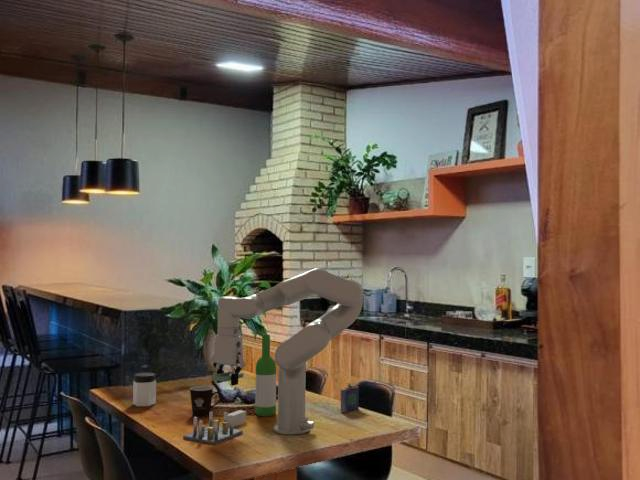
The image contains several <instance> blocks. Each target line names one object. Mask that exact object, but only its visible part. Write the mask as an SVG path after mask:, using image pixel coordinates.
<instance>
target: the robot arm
mask: <svg viewBox="0 0 640 480" xmlns="http://www.w3.org/2000/svg"><path fill="white" fill-rule="evenodd" d="M315 295H317V296H319V297H321V298H324V299H327V300H329V301H331V302H334V303H336V304H335V305H334V306H333V307H332V308H331V309H329V310H328V311H327V312H325V313H324V314H323V315H321V316H320V317H318V318H316V319H315V320H313V321H311V322H309V323H308V324H307V325H305V327H304V328H302V329H301V330H300V331H298V332H296V333H295V334H293V336H291V337H289V338H287V339H284V340H283V341H282V342H281V343H280V344H279V345H278V347H277V348H276V350H275V353H274V361H275V363H276V366H278V371H277V386H278V395H277V423H275V425H273V428H272V429H273V431H274V432H275V433H277V434H281V435H287V436H288V435H292V436H293V435H301V434H305V433H309V431H310V430H314V428H315V422H314V421H309V417H308V416H306V378H307V377H306V372H307V371H306V369H307V362H308V361H309V360H311V359H312V358H314V357H315V356H316V355H318V354H319V353H320V352H322V351H323V350H325V348H326V347H327V346H328V344H329V343H330V342H331V341H332V340H333V339H334V338H336V337H337V336H338V335H340V334H341V333H342V332H343V331H344V330H346V329H347V328H348V327H350V326H351V325H352V324H353V323H354V322H355V321H356V320H357V319H358V318H359V316H360V314H361V312H362V309H363V305H364V294H363V289H362V286H361V285H360V283H359V282H357V281H356V280H354V279H346V278H343V277H340V276H338V275H335V274H333V273H330V272H328V270H326V269H325V268H323V267H316V268H313V269H311V270H308V271H306V272H303V273H300V274H298V275H296V276H293V277H290V278H288V279H286V280H285V279H284V280H283V281H281V282H279V283H277V284H276V285H275V286H272V287H269V288H267V289H265V290H262V291H259V292H257V293H254V294H251V295H249V296H246V297H237V296H221V297H219V298H218V300H217V333H216V336H215V342H214V350H213V356H211V358H210V362H211V364H212V366H213V367H214V371H215V372H216V374H220V373H224V372H225V370H223V369H224V368H225V367H224V366H230V368H231V369H230V370H231V371H232V373H233V374H231V380H230V385H231V386H237V385H239V379H238V373H241V371H242V370H243V368H244V367H246V361H244V351H243V340H242V336H240V334H241V333H242V330H241V329H240V318H241V319H245V320H246V319H247V320H249V319H250V320H251V319H254V318H255V317H258V316H260V315H262V314H264V313H267V312H269V311H272V310H275V309H277V308H280V307H284V306H290V305H293V304H296V303H298V302H300V301H303V300H305V299H308V298H310V297H313V296H315ZM215 381H216V380H215ZM221 383H223V382H222V381H216V384H221Z"/></svg>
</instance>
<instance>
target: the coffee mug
mask: <svg viewBox="0 0 640 480" xmlns="http://www.w3.org/2000/svg"><path fill="white" fill-rule="evenodd" d="M189 392H190V394H189V395H190V401H191V411H192V413H191V414H192V416H193V417H197V418H204V417H203V416H205V417H208V416H207V415H209V412H211V409H212V408H213V407H214V406H216V405H218V404H219V403H220V402H221V401H222V400H223V397H224V396H223V394H222V392H221V391H214V387H213V386H211V385H209V386H208V385H197V386H192V387H190V388H189ZM215 394H219V395H220V399H219V400H218V401H217V402H215V403H214V404H212V402H213V401H212V400H213V397H214V396H215Z"/></svg>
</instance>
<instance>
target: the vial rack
mask: <svg viewBox="0 0 640 480" xmlns="http://www.w3.org/2000/svg"><path fill="white" fill-rule="evenodd" d="M227 414H228V412H227V411H224V412H223V422H222V423H221V426H220V420H218V419H213V418H214V417H213V416H214V411H210V412H209V416H208V419H209V420H208V423H209V424H208V426H206V427H205V425H204V423H203V422H204V421H203V420H200V419H199V420H198V417H195V416H193V431H192V432H190V433H189V432H188V433H187V434H185V435H182V436H183V440H188V441H193V442H199V443H204V444H208V445H212V446H215V445H218V444H220V443H223V442H225V441H227V440H229V439H232V438H235V437H237V436H239V435H243V433H244V431H243V430H241V429H236V428H234V427H233V415H230V427H228V422H227Z"/></svg>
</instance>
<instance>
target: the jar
mask: <svg viewBox="0 0 640 480" xmlns="http://www.w3.org/2000/svg"><path fill="white" fill-rule="evenodd" d="M133 379H134V380H133V381H132V404H133V405H134V406H136V407H150V406H154V405H156V404H157V380H156V373H153V372H138V373H135V374H134V378H133Z"/></svg>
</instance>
